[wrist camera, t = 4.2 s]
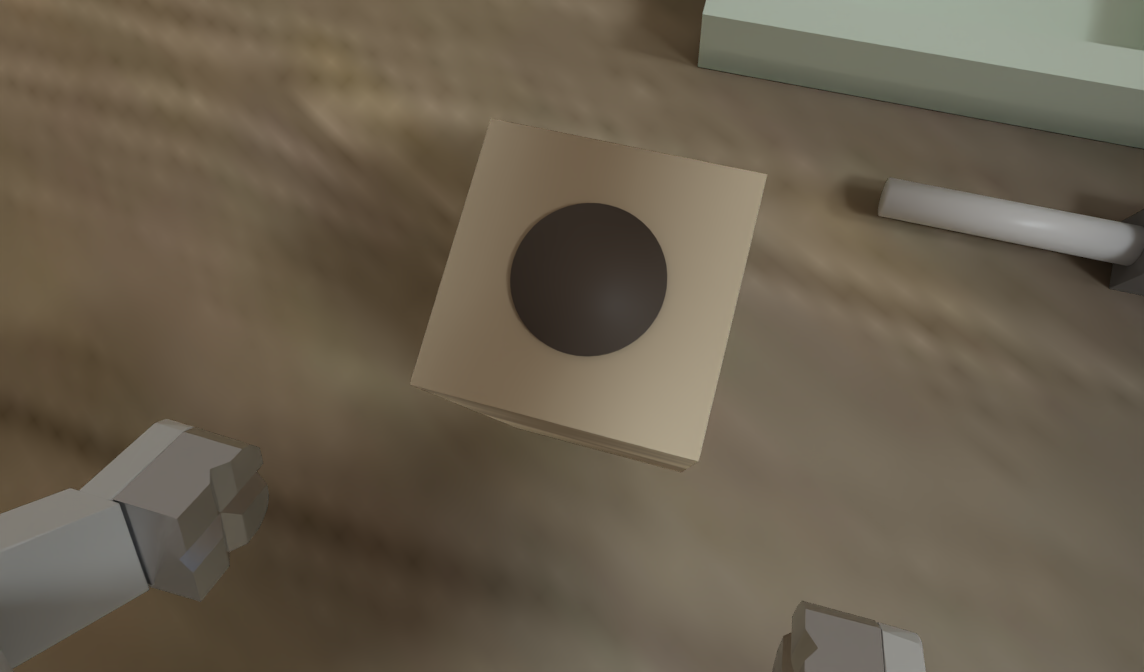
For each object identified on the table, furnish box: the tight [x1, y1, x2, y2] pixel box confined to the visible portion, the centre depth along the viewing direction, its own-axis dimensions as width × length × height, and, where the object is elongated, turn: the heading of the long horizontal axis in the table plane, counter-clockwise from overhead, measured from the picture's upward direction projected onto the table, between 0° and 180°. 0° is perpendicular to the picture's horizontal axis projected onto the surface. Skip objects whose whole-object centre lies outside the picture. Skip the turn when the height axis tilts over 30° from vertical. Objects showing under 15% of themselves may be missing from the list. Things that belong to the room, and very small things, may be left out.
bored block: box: [410, 118, 767, 472], centre depth 16 cm, size 5×4×9 cm
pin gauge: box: [878, 177, 1144, 296], centre depth 19 cm, size 11×2×2 cm, turn 75°
